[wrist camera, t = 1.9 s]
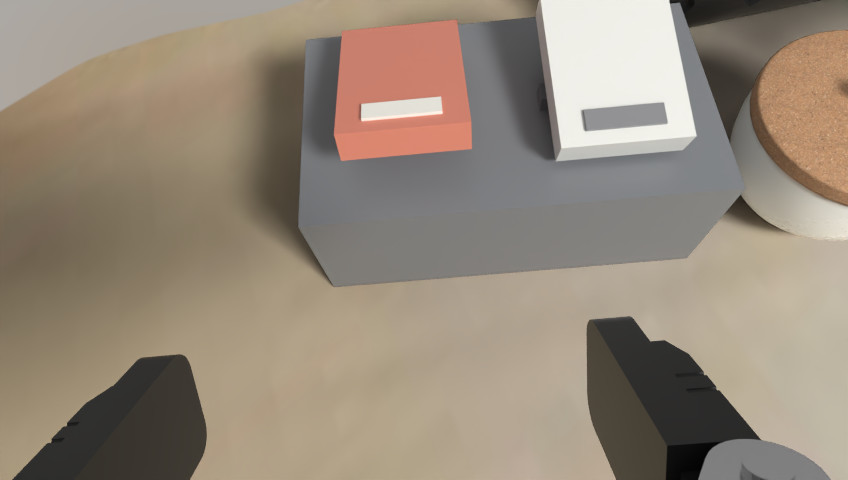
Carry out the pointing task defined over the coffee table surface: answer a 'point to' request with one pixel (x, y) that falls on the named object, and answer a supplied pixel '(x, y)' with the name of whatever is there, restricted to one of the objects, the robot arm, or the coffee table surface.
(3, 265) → the coffee table surface
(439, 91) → the labelled salmon box
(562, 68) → the white block
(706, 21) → the muzzle brake
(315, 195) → the switch box
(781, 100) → the lidded jar
